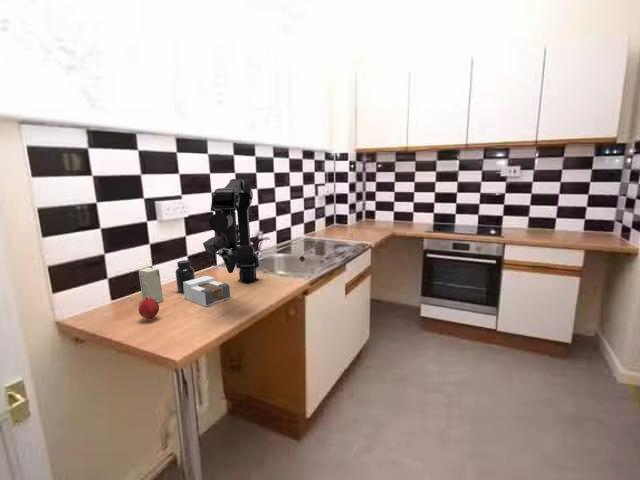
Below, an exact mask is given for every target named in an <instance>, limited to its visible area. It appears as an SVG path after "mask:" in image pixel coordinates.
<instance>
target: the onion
mask: <svg viewBox="0 0 640 480" xmlns="http://www.w3.org/2000/svg"><path fill="white" fill-rule="evenodd" d="M159 311H160V305H159V303H157V302H156V301H155V300H154V299H152V298H150V297H149V296H147V297H146V298H145V299H144V300H143V299H142V301H141V302H140V303H139V305H138V313H139V315H140V316H141V317H142V318H144V319H146V320H148V321H150V320H153V318H154V317H156V316H157V315H158V313H159Z"/></svg>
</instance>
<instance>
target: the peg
mask: <svg viewBox="0 0 640 480" xmlns="http://www.w3.org/2000/svg"><path fill="white" fill-rule="evenodd" d="M199 287H202V288H205V289H207V288H208V289H211V291H212V294H213V302H215V301H218V300H221V299H223V294H222V288H219V287H216V286H213V285H210V284H207V283H206V284H202V285H199Z"/></svg>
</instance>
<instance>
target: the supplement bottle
mask: <svg viewBox="0 0 640 480" xmlns="http://www.w3.org/2000/svg"><path fill="white" fill-rule="evenodd" d="M176 263H177V268H176V269H175V280H176V287H177V289H176V290H177V292H178V293H180V294H184V287H183V282H185V281H189V280H193V279H196V277H195V276H196V275H195V268H194V267H192V266H191V265H192V264H191V260H189V259H184V260H179V261H177V262H176Z"/></svg>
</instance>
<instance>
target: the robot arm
mask: <svg viewBox="0 0 640 480" xmlns="http://www.w3.org/2000/svg"><path fill="white" fill-rule="evenodd" d="M253 199H254V193H253V189H252V186H250V185H249V184H248V183H246V182H245V179H243V178H232V179H230V180H229V182H228V183H227V184H226V185H225V186H224V187H220V188H215V190H214V192H213V193H212V197H211V203H210V204H211V205H210V212H214V214H212V216H210V218H209V221H208V225H209V227H210V229H211V230H213V231H214V232H215V236H213V237H211V238H209V239H207V240H205V241H204V242H202V245H203V248H204V250H205V253H207V254H208V253H209V254H212V255H214V254H216V255H217V256H219V257H220V258H222V260H223V262H224V266H225V268H226V270H227V273H228V274H232V273H234V270H235V267H236V269H239V272H238V273H239V275H238V277H239V279H237V281H238V282H240V283H244V284H251V283H253V282H257V281H259V279H260V278H258V277H257V268H260V261H259V257H258V255H257V253H256V249H255V247H254V245H252V243H251V231H250V228H251V227H250V215H249V209H250V207H251V206H252V201H253ZM236 212H237V214H236ZM238 238H239V241H238Z"/></svg>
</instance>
